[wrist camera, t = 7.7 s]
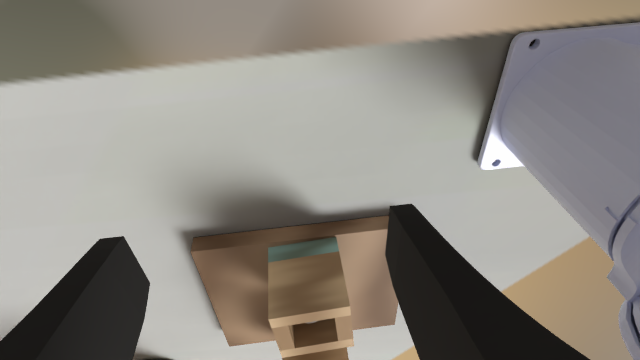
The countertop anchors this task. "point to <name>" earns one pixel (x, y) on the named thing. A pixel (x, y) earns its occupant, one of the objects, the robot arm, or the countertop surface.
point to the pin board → (252, 274)
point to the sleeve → (308, 298)
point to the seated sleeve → (322, 355)
